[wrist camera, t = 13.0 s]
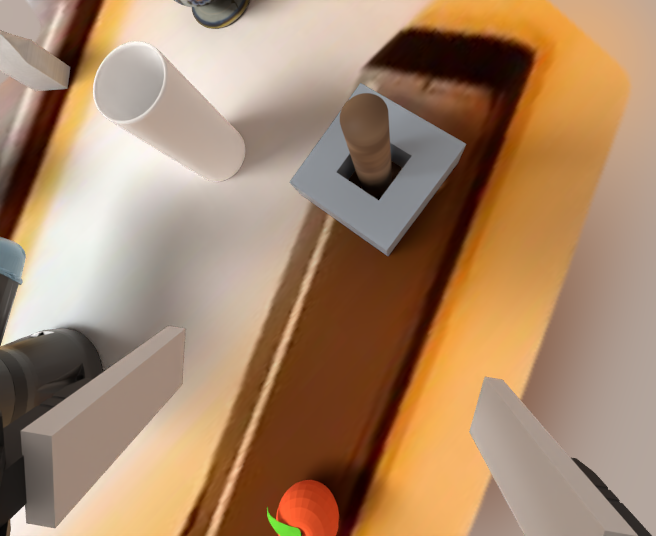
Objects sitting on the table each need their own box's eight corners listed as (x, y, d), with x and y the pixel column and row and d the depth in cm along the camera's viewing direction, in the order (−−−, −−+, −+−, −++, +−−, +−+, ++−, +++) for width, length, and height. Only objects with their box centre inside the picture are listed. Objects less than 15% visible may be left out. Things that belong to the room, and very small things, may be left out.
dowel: (354, 184, 42) (330, 124, 27) (372, 159, 42) (358, 84, 27) (379, 201, 41) (368, 148, 26) (398, 175, 41) (398, 107, 26)
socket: (301, 195, 43) (289, 182, 38) (364, 107, 42) (360, 82, 38) (388, 256, 40) (386, 250, 35) (457, 163, 39) (466, 144, 34)
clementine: (274, 512, 40) (249, 557, 33) (287, 456, 41) (264, 489, 34) (336, 538, 38) (322, 591, 32) (349, 479, 39) (339, 519, 32)
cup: (255, 140, 45) (181, 57, 30) (227, 191, 46) (138, 136, 30) (211, 117, 47) (118, 28, 32) (183, 167, 47) (78, 103, 32)
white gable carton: (67, 88, 54) (-6, 42, 44) (35, 91, 55) (-43, 46, 45) (70, 67, 54) (-2, 16, 44) (38, 70, 55) (-39, 22, 46)
